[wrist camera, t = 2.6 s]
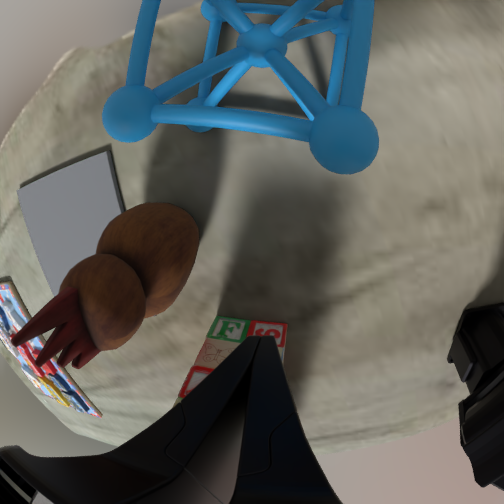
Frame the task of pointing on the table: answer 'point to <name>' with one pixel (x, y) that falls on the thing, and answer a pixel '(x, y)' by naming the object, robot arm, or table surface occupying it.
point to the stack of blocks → (228, 346)
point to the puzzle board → (50, 374)
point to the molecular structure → (260, 55)
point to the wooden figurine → (117, 285)
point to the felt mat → (70, 213)
